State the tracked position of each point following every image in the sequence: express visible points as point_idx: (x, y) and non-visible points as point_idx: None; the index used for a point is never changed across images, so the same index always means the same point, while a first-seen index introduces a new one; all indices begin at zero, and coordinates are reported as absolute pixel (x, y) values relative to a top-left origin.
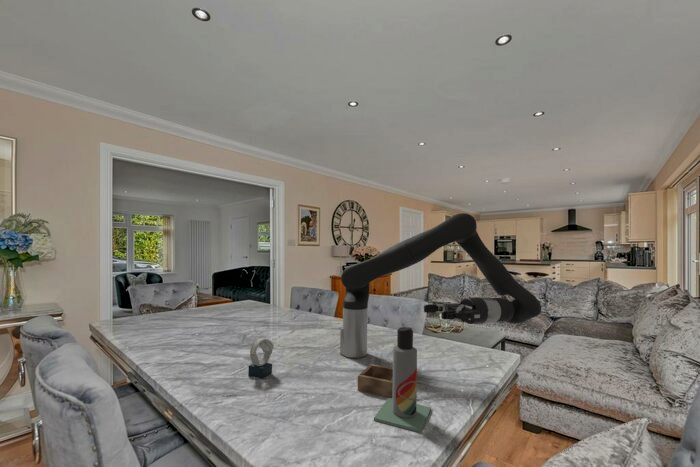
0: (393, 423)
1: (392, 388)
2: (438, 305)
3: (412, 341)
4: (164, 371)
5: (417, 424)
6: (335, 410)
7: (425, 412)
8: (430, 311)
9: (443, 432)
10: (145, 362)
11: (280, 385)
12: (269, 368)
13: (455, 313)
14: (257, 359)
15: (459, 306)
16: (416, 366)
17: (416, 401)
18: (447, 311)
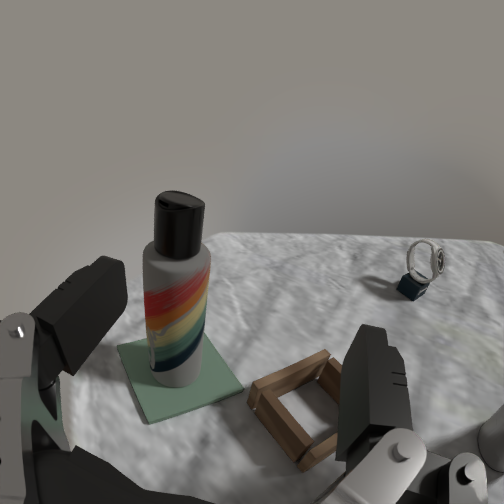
0: None
1: (251, 392)
2: (363, 457)
3: (154, 231)
4: (423, 243)
5: (131, 353)
6: (261, 309)
7: (144, 396)
8: (342, 401)
9: (89, 371)
10: (444, 241)
11: (371, 295)
12: (412, 288)
13: (32, 315)
14: (407, 260)
15: (18, 467)
16: (144, 294)
17: (151, 361)
18: (84, 273)
